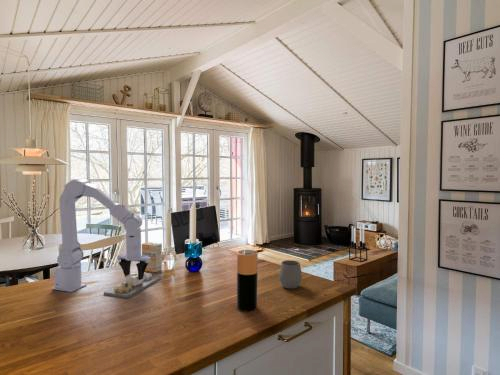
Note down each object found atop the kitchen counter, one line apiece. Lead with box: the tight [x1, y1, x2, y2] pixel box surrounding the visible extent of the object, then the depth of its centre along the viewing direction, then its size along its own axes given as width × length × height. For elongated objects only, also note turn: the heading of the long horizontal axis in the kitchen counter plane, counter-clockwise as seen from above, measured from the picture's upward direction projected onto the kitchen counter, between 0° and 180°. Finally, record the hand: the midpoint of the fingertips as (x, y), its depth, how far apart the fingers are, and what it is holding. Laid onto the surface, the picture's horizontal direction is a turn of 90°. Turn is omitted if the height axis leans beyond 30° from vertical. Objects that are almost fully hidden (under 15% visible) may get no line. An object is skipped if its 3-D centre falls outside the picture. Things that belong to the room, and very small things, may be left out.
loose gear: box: [124, 272, 143, 286], centre depth 133 cm, size 5×7×4 cm
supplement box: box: [141, 241, 163, 273], centre depth 153 cm, size 8×5×13 cm, turn 73°
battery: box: [236, 249, 259, 312], centre depth 113 cm, size 7×7×20 cm
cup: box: [278, 259, 303, 290], centre depth 134 cm, size 10×9×10 cm
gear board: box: [103, 271, 162, 299], centre depth 133 cm, size 11×22×4 cm, turn 163°
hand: (134, 278), depth 133 cm, fingers open, 6 cm apart
